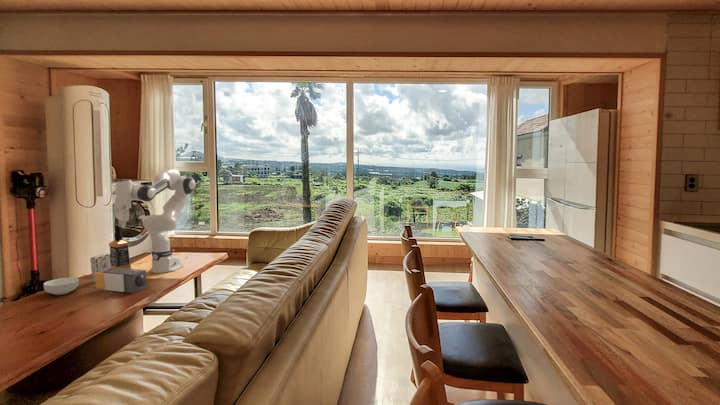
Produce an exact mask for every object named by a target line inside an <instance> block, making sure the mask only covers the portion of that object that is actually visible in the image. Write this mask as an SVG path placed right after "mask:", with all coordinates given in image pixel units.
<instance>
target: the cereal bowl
mask: <svg viewBox="0 0 720 405" xmlns="http://www.w3.org/2000/svg"><path fill="white" fill-rule="evenodd" d="M79 284H80V279H79V278H78V277H61V278H56V279H51V280H48V281H45V282H43V289H44V291H45V292H46V293H48V294H53V295H54V296H62V295H67V294H69V293H71V292H72V291H74V290H76V289H77V288H78V286H79Z"/></svg>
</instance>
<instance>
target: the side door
mask: <svg viewBox="0 0 720 405" xmlns="http://www.w3.org/2000/svg"><path fill="white" fill-rule="evenodd" d="M95 280H96V283H95V288H97V289H104V290H105V291H109V292H110V291H113V292H120V293H124V292H125V285H124V275H119V274H109V273H99V272H97V273H95ZM125 293H126V292H125Z"/></svg>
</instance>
